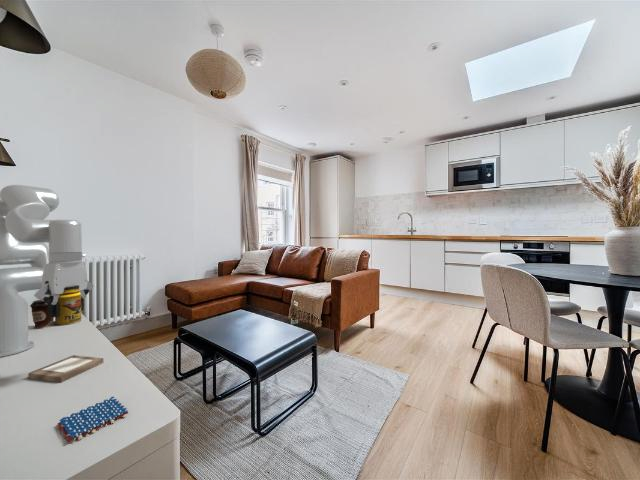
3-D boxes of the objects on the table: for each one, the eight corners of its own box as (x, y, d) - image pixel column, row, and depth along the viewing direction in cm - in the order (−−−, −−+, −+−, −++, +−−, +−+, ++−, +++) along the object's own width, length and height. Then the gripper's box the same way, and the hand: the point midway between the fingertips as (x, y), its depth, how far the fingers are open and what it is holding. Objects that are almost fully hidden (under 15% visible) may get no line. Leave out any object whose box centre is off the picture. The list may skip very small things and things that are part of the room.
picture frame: (28, 377, 78) (28, 372, 78) (73, 359, 89) (73, 354, 89) (61, 382, 75) (61, 376, 75) (103, 362, 87) (103, 357, 87)
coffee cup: (42, 330, 119) (41, 302, 119) (24, 330, 119) (24, 302, 119) (61, 323, 128) (60, 298, 128) (45, 323, 128) (44, 298, 128)
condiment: (80, 323, 81) (79, 286, 81) (41, 329, 76) (41, 289, 76) (85, 317, 87) (84, 283, 87) (50, 322, 82) (49, 285, 82)
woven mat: (55, 427, 58) (55, 418, 58) (113, 402, 66) (113, 394, 66) (68, 448, 52) (68, 439, 52) (129, 418, 61) (129, 409, 61)
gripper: (86, 256, 91) (87, 305, 91) (21, 260, 74) (22, 321, 74) (103, 256, 90) (103, 306, 90) (40, 260, 73) (41, 323, 73)
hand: (66, 312), depth 82 cm, fingers closed on condiment, 6 cm apart
